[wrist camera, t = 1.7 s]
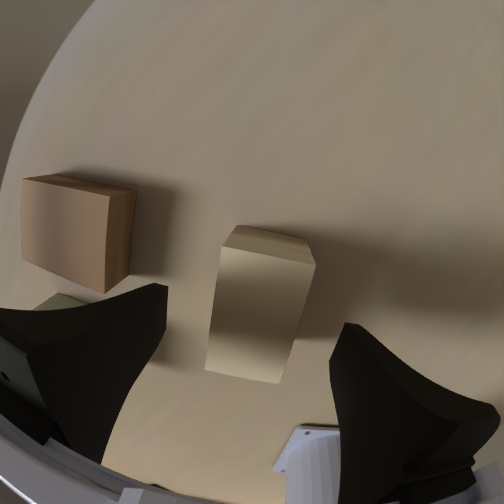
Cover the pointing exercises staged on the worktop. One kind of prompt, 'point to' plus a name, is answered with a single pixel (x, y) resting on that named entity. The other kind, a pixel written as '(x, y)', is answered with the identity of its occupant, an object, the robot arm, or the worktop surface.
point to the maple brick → (258, 303)
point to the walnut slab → (78, 229)
